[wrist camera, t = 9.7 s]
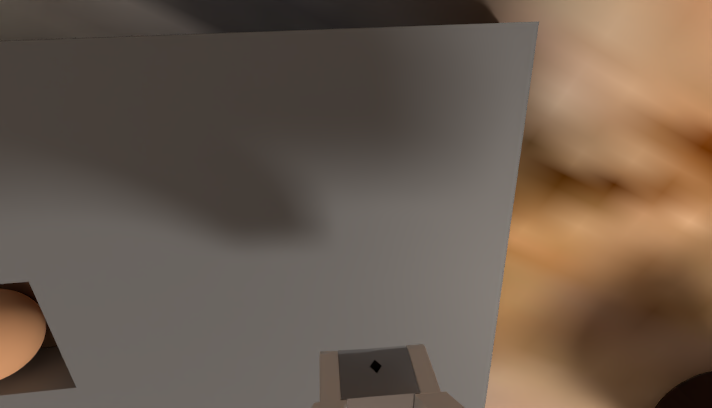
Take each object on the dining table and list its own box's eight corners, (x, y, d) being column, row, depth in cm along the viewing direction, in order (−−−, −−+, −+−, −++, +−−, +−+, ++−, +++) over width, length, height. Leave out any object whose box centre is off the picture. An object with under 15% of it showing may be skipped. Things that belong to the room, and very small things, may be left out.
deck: (-284, 53, 12) (-428, 56, 9) (501, 24, 14) (538, 21, 11) (-12, 469, 20) (-54, 525, 17) (460, 414, 22) (477, 458, 19)
